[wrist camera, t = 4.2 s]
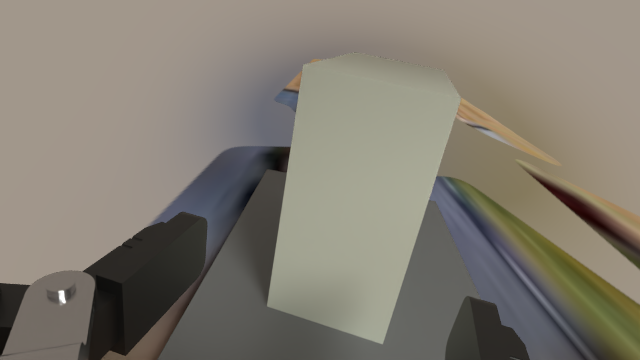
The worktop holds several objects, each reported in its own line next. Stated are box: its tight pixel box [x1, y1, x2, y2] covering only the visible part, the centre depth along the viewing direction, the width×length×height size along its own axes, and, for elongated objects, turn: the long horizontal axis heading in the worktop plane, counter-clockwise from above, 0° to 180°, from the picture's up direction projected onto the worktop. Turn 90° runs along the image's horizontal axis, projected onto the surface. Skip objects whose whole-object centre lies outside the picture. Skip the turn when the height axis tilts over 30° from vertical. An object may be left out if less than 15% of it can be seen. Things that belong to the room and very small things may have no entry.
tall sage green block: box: [267, 52, 461, 344], centre depth 22 cm, size 12×6×12 cm, turn 164°
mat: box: [157, 169, 481, 360], centre depth 26 cm, size 22×16×1 cm
